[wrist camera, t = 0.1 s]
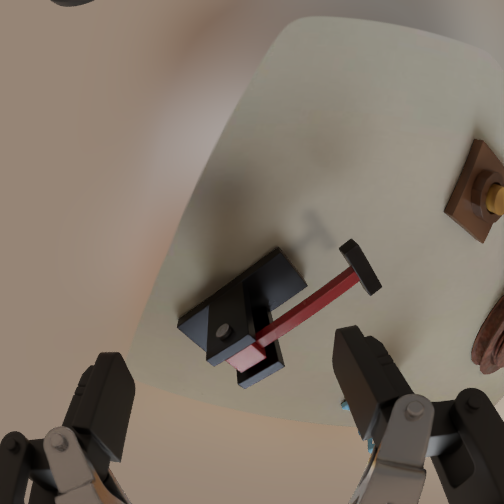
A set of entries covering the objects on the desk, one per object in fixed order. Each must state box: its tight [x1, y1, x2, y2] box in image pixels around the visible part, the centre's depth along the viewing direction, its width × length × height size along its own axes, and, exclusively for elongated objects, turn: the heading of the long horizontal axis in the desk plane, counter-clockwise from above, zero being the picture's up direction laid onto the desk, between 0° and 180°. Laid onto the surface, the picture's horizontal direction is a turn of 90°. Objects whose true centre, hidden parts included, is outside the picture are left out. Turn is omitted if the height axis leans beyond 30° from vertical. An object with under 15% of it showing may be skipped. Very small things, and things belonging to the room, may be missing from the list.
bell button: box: [486, 184, 504, 215], centre depth 25 cm, size 4×4×2 cm
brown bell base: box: [444, 139, 504, 243], centre depth 27 cm, size 11×9×4 cm
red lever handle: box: [226, 239, 382, 373], centre depth 23 cm, size 14×5×2 cm, turn 128°
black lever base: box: [177, 247, 308, 389], centre depth 27 cm, size 14×6×10 cm, turn 128°
